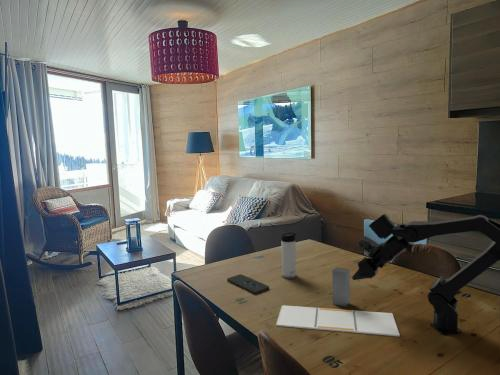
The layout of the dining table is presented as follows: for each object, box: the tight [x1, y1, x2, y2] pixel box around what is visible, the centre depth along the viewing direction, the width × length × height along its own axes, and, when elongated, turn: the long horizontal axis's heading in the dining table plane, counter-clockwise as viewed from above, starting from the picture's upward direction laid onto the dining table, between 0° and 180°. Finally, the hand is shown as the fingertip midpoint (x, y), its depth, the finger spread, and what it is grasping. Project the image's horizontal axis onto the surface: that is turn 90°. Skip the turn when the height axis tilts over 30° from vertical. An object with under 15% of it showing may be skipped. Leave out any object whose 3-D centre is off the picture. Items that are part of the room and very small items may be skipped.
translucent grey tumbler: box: [331, 266, 351, 308], centre depth 128 cm, size 5×4×13 cm
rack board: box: [275, 305, 401, 337], centre depth 117 cm, size 38×14×1 cm, turn 77°
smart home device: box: [226, 273, 270, 296], centre depth 149 cm, size 8×2×20 cm
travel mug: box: [280, 232, 297, 279], centre depth 156 cm, size 6×7×20 cm
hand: (357, 274), depth 124 cm, fingers open, 9 cm apart
